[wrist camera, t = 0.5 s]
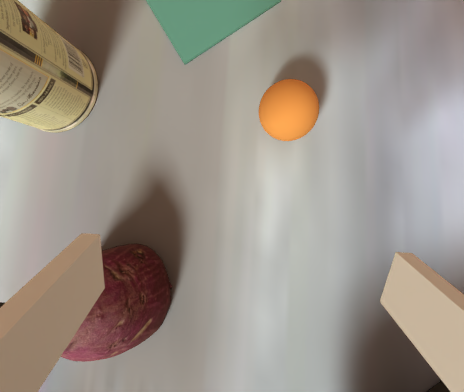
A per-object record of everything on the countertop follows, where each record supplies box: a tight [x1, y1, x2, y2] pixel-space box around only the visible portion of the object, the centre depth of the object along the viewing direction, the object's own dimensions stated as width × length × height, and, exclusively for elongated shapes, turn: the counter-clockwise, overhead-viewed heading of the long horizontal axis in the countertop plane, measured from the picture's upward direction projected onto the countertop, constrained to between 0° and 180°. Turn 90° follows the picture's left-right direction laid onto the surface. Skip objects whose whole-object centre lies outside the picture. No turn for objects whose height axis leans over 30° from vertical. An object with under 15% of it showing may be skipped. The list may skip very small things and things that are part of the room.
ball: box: [259, 79, 319, 141], centre depth 25 cm, size 6×6×6 cm
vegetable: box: [60, 244, 172, 361], centre depth 24 cm, size 10×10×15 cm
